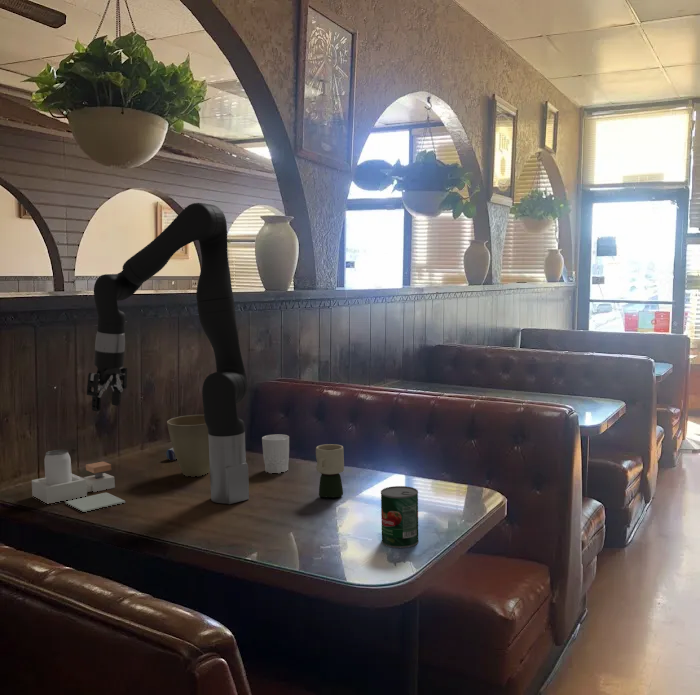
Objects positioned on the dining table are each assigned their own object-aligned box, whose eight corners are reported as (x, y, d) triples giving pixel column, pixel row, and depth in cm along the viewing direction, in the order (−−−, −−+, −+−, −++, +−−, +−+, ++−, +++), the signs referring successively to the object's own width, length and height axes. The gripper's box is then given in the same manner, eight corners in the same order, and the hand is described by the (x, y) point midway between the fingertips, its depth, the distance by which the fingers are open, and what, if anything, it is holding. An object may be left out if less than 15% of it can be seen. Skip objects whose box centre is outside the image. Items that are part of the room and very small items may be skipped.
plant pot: (161, 473, 221) (158, 419, 219) (207, 464, 229) (205, 412, 228) (182, 483, 209) (179, 427, 207) (230, 474, 217) (228, 419, 216)
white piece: (118, 489, 205) (117, 473, 205) (47, 505, 192) (46, 487, 192) (102, 481, 213) (101, 466, 212) (32, 496, 200) (31, 480, 199)
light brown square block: (112, 480, 206) (111, 464, 206) (94, 484, 203) (93, 467, 203) (104, 477, 210) (103, 461, 210) (86, 480, 207) (85, 464, 206)
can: (67, 500, 196) (64, 454, 195) (42, 500, 196) (39, 455, 195) (76, 492, 203) (73, 449, 201) (52, 493, 203) (49, 449, 201)
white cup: (275, 475, 215) (274, 441, 214) (257, 471, 220) (256, 437, 219) (295, 470, 220) (294, 436, 219) (277, 465, 226) (276, 433, 225)
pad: (125, 503, 192) (125, 500, 192) (83, 513, 185) (83, 510, 185) (106, 494, 200) (106, 492, 200) (65, 503, 193) (65, 501, 193)
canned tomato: (374, 544, 159) (373, 493, 158) (392, 532, 166) (391, 484, 165) (408, 550, 155) (407, 498, 154) (425, 538, 162) (424, 488, 160)
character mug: (329, 489, 200) (328, 441, 198) (353, 492, 196) (351, 443, 195) (308, 501, 190) (306, 450, 189) (332, 504, 187) (331, 453, 186)
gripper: (105, 354, 193) (101, 415, 195) (137, 348, 206) (133, 405, 209) (80, 349, 195) (77, 410, 197) (114, 344, 209) (110, 401, 211)
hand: (106, 408), depth 203 cm, fingers open, 8 cm apart
